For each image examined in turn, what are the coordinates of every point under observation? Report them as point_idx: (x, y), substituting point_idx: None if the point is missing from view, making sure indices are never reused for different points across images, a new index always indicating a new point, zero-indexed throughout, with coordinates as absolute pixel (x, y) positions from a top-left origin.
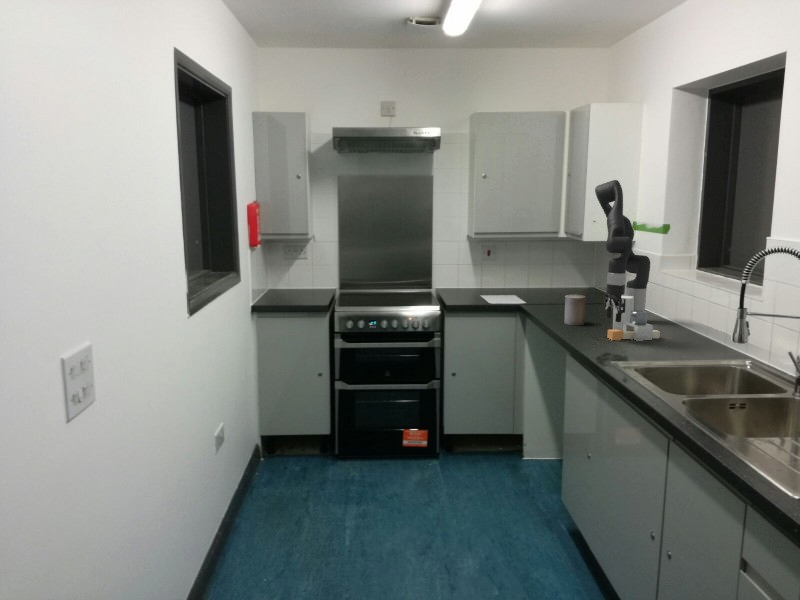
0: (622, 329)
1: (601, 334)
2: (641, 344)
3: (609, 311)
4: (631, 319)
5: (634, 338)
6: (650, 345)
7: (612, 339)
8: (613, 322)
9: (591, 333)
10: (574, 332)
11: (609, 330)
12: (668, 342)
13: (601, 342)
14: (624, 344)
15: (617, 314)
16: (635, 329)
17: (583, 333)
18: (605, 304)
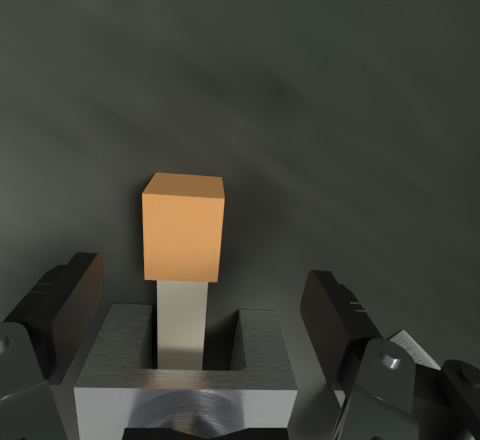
0: None
1: (332, 206)
2: (30, 286)
3: (331, 348)
4: (183, 421)
5: (139, 311)
6: (4, 317)
7: (154, 176)
8: (427, 363)
9: (384, 157)
10: (472, 42)
11: (195, 196)
12: (71, 415)
13: (109, 51)
14: (33, 188)
15: (32, 323)
16: (119, 357)
17: (412, 97)
18: (468, 413)
